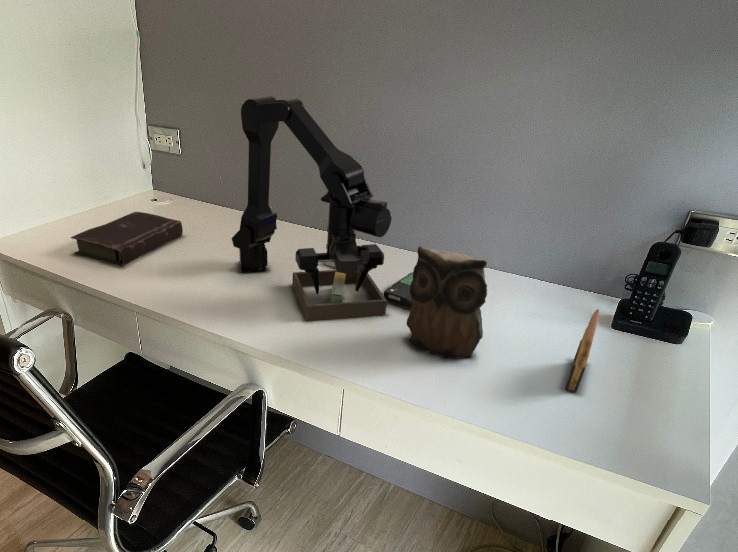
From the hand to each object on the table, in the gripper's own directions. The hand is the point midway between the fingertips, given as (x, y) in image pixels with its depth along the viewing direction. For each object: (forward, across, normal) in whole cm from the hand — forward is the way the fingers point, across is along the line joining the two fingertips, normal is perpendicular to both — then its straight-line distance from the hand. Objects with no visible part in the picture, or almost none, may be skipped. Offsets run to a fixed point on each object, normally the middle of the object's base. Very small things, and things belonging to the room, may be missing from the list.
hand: (337, 292), depth 129 cm
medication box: (+2, 0, 0) cm, 2 cm away
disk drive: (+2, +19, -1) cm, 19 cm away
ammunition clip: (+2, +36, -37) cm, 52 cm away
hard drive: (+2, +9, +21) cm, 23 cm away
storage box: (+2, 0, 0) cm, 2 cm away
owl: (+2, +17, -22) cm, 28 cm away
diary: (+2, -49, +41) cm, 64 cm away
